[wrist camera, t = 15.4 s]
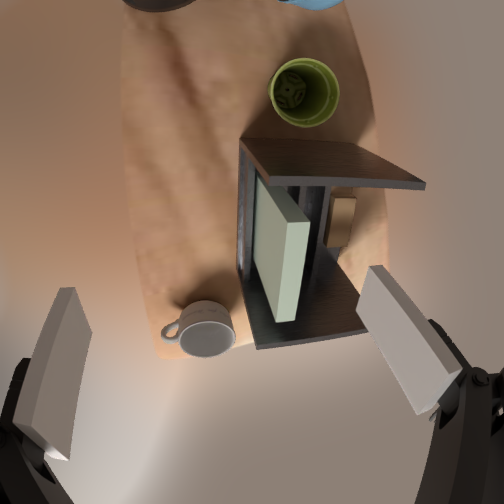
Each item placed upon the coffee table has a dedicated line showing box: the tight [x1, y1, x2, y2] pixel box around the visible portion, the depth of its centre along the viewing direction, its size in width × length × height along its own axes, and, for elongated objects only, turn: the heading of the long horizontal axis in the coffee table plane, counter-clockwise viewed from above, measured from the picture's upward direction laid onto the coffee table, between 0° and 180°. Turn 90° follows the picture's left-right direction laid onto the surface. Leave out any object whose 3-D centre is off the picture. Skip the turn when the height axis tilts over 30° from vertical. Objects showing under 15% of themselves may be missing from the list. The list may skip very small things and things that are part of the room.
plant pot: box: [268, 58, 340, 128], centre depth 38 cm, size 9×9×9 cm
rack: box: [236, 138, 426, 350], centre depth 44 cm, size 24×20×20 cm
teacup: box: [161, 300, 236, 358], centre depth 58 cm, size 14×11×8 cm
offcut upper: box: [323, 194, 357, 248], centre depth 50 cm, size 9×4×2 cm, turn 178°
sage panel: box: [251, 172, 310, 322], centre depth 43 cm, size 14×2×18 cm, turn 178°
